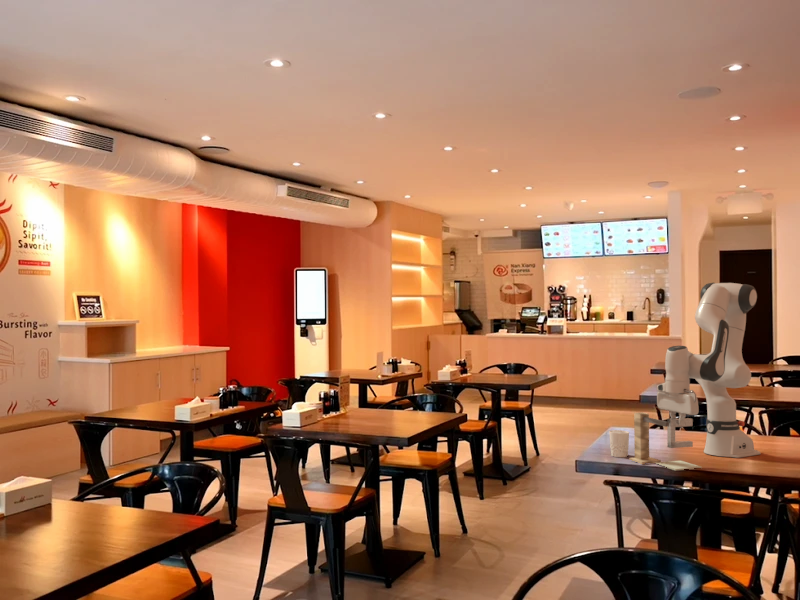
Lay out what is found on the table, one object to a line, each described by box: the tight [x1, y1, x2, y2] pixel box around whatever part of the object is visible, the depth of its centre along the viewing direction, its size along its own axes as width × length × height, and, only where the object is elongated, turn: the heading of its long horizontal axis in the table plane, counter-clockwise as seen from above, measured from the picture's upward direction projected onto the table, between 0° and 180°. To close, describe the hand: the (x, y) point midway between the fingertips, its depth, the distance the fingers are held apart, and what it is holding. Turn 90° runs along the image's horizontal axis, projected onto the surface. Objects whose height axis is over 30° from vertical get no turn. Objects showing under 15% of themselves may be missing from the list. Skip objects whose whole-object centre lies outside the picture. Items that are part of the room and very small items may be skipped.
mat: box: [655, 460, 703, 472], centre depth 277 cm, size 12×12×1 cm
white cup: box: [608, 429, 630, 458], centre depth 297 cm, size 8×8×10 cm
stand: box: [628, 412, 669, 465], centre depth 281 cm, size 9×18×19 cm, turn 17°
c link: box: [666, 417, 694, 449], centre depth 277 cm, size 10×2×11 cm, turn 107°
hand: (677, 423), depth 277 cm, fingers closed on c link, 2 cm apart
